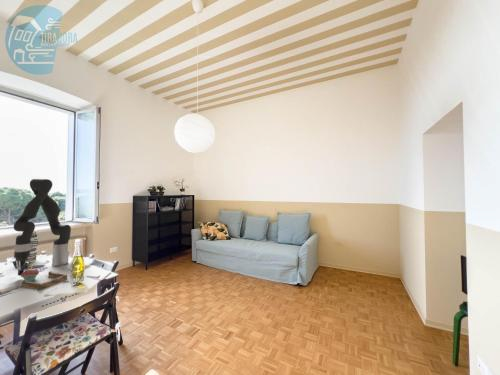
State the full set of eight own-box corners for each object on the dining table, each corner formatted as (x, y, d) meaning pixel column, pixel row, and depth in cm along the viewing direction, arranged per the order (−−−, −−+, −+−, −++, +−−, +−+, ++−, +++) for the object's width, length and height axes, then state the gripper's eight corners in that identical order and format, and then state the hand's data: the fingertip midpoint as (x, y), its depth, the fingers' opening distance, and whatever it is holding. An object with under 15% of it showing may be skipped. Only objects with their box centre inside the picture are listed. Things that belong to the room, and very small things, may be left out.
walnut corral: (49, 276, 148) (50, 271, 148) (67, 279, 145) (67, 273, 145) (21, 286, 132) (22, 280, 132) (40, 289, 129) (40, 283, 129)
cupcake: (41, 279, 143) (42, 261, 144) (24, 284, 135) (26, 265, 135) (33, 276, 146) (35, 260, 146) (17, 281, 138) (18, 263, 138)
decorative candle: (33, 258, 181) (36, 230, 182) (39, 260, 177) (41, 231, 178) (19, 261, 172) (21, 232, 173) (24, 263, 169) (26, 233, 170)
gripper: (36, 249, 145) (34, 274, 145) (22, 247, 148) (20, 272, 147) (23, 252, 138) (20, 278, 137) (8, 250, 140) (6, 276, 140)
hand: (20, 275), depth 142 cm, fingers closed
